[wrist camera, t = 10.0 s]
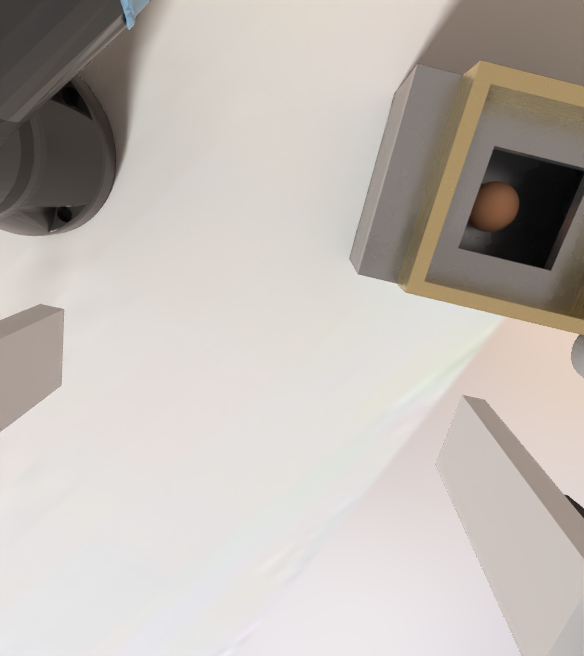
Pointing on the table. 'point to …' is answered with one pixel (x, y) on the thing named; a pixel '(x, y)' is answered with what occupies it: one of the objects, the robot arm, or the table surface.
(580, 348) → the coffee cup
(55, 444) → the table surface
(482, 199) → the ball
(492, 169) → the open square box
